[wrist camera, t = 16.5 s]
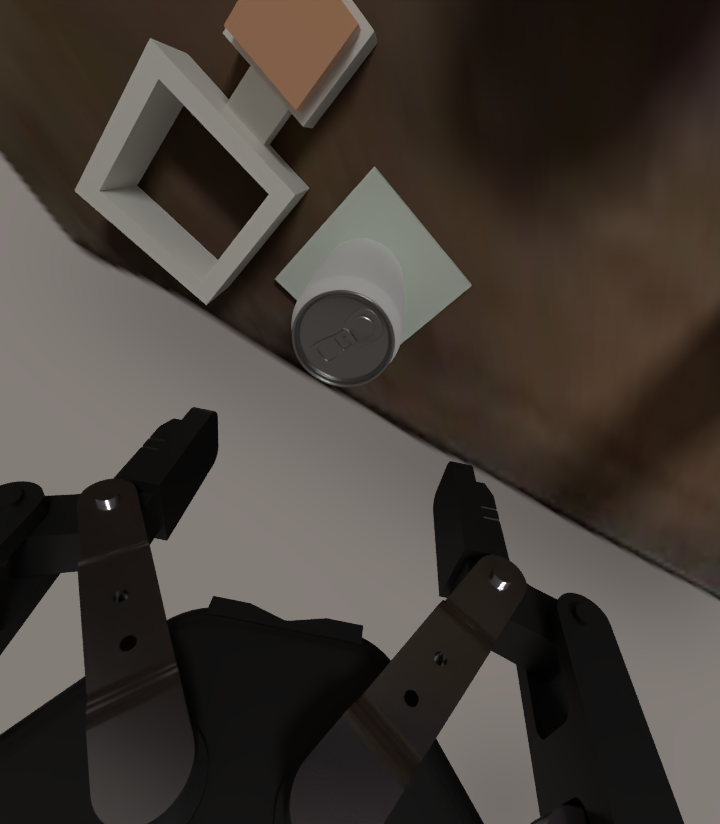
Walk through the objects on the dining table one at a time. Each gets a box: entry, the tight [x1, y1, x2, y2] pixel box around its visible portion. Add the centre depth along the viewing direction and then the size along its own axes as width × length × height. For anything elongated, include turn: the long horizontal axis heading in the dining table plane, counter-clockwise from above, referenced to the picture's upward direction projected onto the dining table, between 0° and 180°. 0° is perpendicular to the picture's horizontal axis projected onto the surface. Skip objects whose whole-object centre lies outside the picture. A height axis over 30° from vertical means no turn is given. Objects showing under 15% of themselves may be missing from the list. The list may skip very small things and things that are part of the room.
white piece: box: [75, 0, 377, 305], centre depth 26 cm, size 10×19×4 cm, turn 134°
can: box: [291, 238, 404, 387], centre depth 27 cm, size 6×6×12 cm
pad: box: [275, 166, 472, 344], centre depth 32 cm, size 11×11×1 cm
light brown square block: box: [224, 0, 361, 112], centre depth 23 cm, size 5×5×4 cm
